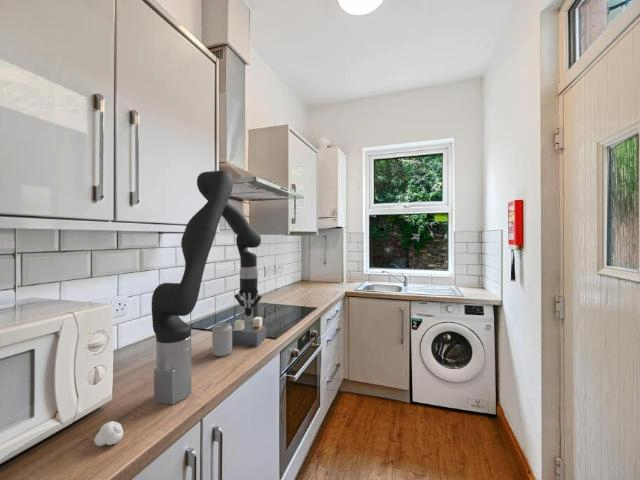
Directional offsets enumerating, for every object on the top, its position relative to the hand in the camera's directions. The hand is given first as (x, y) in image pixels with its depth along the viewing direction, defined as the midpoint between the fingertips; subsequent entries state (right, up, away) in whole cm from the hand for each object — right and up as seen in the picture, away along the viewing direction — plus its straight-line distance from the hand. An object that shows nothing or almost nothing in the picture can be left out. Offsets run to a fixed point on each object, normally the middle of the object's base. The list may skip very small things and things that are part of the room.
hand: (248, 315), depth 128 cm
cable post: (+1, -11, +8) cm, 14 cm away
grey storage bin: (0, -12, 0) cm, 12 cm away
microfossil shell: (-17, -13, -62) cm, 65 cm away
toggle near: (-3, -5, -2) cm, 7 cm away
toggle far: (+3, -5, +3) cm, 7 cm away
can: (-7, -12, -13) cm, 19 cm away
